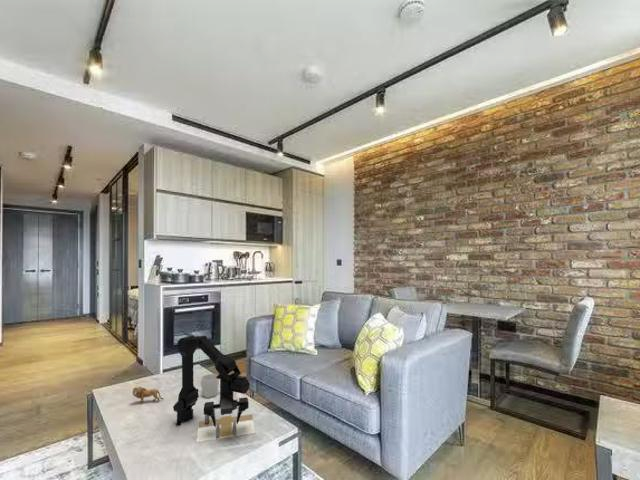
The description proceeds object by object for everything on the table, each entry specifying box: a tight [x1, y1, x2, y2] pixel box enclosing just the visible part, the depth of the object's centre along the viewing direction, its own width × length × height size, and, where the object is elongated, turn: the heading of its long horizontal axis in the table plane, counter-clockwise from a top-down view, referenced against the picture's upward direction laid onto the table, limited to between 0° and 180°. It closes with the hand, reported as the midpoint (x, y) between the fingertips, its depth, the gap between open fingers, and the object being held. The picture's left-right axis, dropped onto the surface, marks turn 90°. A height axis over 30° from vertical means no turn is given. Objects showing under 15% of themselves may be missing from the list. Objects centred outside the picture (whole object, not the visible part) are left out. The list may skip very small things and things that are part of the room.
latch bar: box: [220, 414, 233, 437], centre depth 139 cm, size 8×4×4 cm, turn 16°
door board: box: [195, 413, 256, 443], centre depth 142 cm, size 24×16×5 cm
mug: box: [200, 373, 220, 399], centre depth 177 cm, size 13×9×10 cm
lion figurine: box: [132, 386, 164, 405], centre depth 168 cm, size 15×5×9 cm, turn 113°
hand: (226, 425), depth 139 cm, fingers open, 9 cm apart
